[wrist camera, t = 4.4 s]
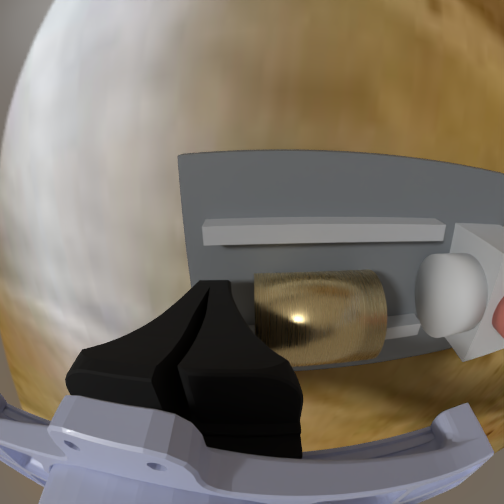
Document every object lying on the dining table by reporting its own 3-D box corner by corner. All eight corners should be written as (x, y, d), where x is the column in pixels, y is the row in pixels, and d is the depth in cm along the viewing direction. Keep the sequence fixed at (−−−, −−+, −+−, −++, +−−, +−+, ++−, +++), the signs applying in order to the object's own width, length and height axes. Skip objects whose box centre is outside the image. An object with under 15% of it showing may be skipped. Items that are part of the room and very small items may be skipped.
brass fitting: (367, 250, 12) (396, 325, 9) (349, 306, 15) (365, 373, 12) (253, 253, 12) (255, 336, 9) (255, 311, 15) (256, 382, 12)
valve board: (500, 172, 12) (572, 200, 6) (458, 336, 17) (497, 390, 11) (182, 153, 12) (129, 174, 7) (207, 360, 17) (194, 442, 11)
